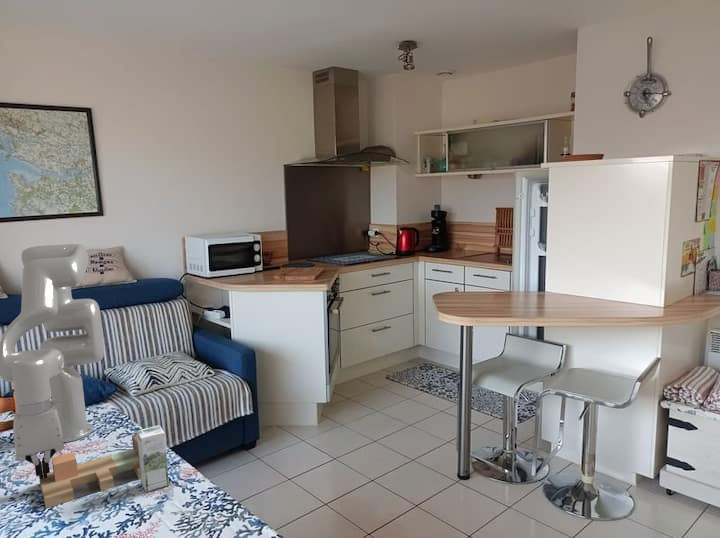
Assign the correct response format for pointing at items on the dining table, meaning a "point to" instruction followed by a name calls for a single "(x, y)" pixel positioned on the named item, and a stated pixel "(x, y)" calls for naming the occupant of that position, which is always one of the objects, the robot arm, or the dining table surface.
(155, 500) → the dining table surface
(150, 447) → the syrup box
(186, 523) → the dining table surface
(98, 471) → the board
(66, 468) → the orange block
